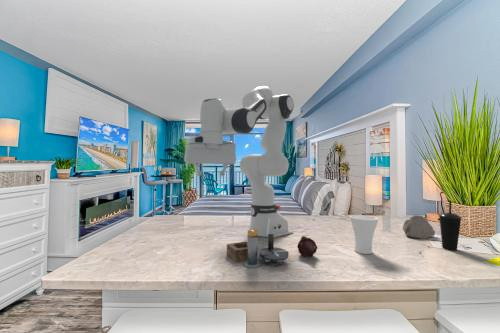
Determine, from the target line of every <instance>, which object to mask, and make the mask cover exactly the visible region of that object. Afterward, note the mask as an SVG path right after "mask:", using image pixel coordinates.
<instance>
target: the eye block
mask: <svg viewBox="0 0 500 333" xmlns="http://www.w3.org/2000/svg"><path fill="white" fill-rule="evenodd" d="M247 244H248V241H247V240H246V241H239V242H233V243H227V244H226V256H228V257H229V258H230V259H231V260H233V261H234V262H235V263H239V262H243V261H244V262H245V261H247Z"/></svg>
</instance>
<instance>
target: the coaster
mask: <svg viewBox="0 0 500 333" xmlns="http://www.w3.org/2000/svg"><path fill="white" fill-rule="evenodd" d="M243 266H244V267H246V268H249V269H255V268H259V267H261V262H260V261H258V260H257V264H256V265H248V264H247V260H245V261H244V262H243Z"/></svg>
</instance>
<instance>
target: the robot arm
mask: <svg viewBox="0 0 500 333" xmlns="http://www.w3.org/2000/svg"><path fill="white" fill-rule="evenodd" d="M241 103H242V104H241V105H242V107H240V108H236V109H230V110H228V109H227V108H226V107H225V106H224V104H223V100H222V99H220V98H216V97H215V98H207V99H204V100H203V101H202V102H201V105H200V114H199V115H200V117H199V120H200V121H199V123H200V130H199V135H195V136H191V137H189V138H187V145H186V147H185V150H184V157H183V158H184V162H185V163H186V164H193V168H194V170H195V171H196V177H197V176H198V177H202V172H203V171H202V170H200V169H199V166H200V164H201V165H202V164H205V165H207V164H208V165H211V164H213V165H222V167H223V168H222V169H221V170H219V176H221V177H223V176H225V175H226V170H227V169H228V165H235V164H236V162H237V154H236V149H237V146H236V144H235V143H234V141H228V140H224V135H234V134H244V135H245V134H249V133H251V132H252V131H253V129H254V128H255V125H256V124H257V122H258V120H267V119H268V123H267V126H266V127H265V129H264V132H263V134H262V137H261V139H260V148H261V149H262V150H263V151H264V152H265V153H261V154H259V153H258V154H257V153H253V154H247V155H244V156H242V158H241V160H239V161H240V162H239V169H240V171H241V172H242V174H243V175H244V176H245V177H246V178H247V180H248V182H249V184H250V189H251V204H250V223H249V227H248V230H250V229H254V230H258V237H263V238H264V237H266V238H268V234H274V238H277V237H281V236H285V235H290V234H291V235H292V234H293V233H294V231H293V229H292V228H290V227H289V223H288V220H287V219H286V218H285V217H284V216H283V215H281V214H280V213H279V212H278V211H280V210H281V209H282V207H281V205H276V204H275V189H274V187H273V186H272V185H271V184H269V182H267V180H266V177H270V178H271V177H272V178H273V177H282V176H285V175H286V174H287V172H288V171H289V167H290V163H289V160H288V158H287V157H286V156H285V155H284V154H283V152H282V147H283V143H284V141H285V140H284V139H285V136H286V133H287V122H286V120H287V119H289V118H290V117H291V116H290V115H291V114H292V113H293V110H294V107H295V105H294V100H293V98H292V97H291V95H289V94H287V93H286V94H280V95H279V94H278V95H274V93H273V91H272V90H271V88H270V87H268V86H267V85H266V86H265V85H263V86H257V87H256V88H253V89H251V90H250V91H248V92H247V93H246V94H244V96H243V97H242V100H241Z"/></svg>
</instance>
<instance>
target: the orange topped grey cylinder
mask: <svg viewBox="0 0 500 333" xmlns="http://www.w3.org/2000/svg"><path fill="white" fill-rule="evenodd" d="M258 238H259V236H258V230H254V229H250V230H249V229H247V242H248V244H247V260H246V261H247V264H248V265H256V264H257V261H258V246H259V244H258V243H259V242H258V240H259V239H258Z"/></svg>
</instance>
